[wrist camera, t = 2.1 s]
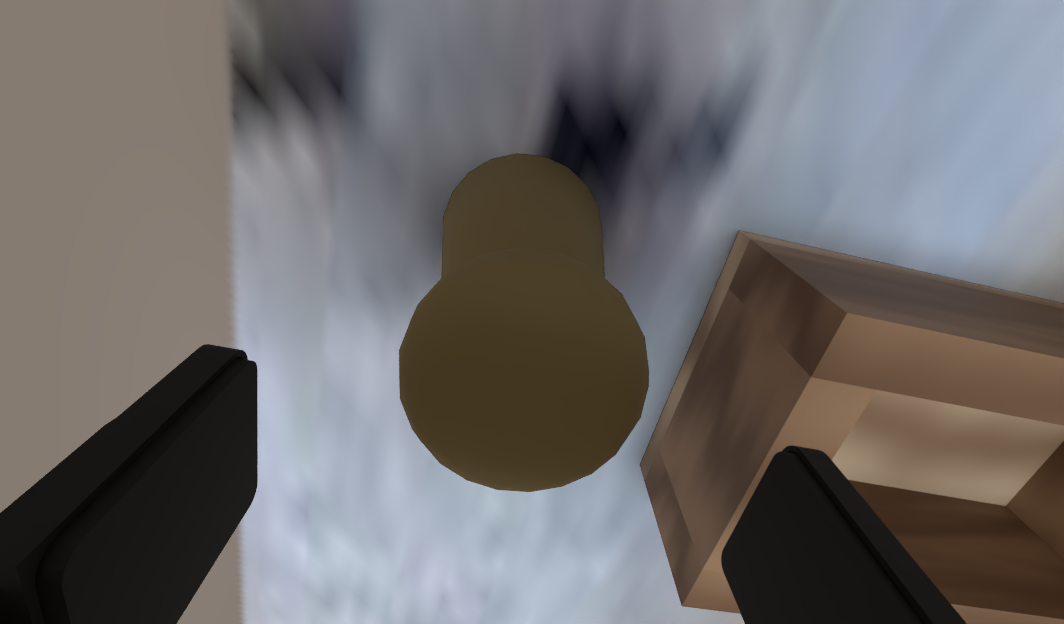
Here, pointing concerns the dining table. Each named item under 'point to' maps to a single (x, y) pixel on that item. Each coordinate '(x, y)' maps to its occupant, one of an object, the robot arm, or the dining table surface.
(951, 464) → the walnut well caddy
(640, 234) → the dining table surface
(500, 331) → the olive brown gourd shape
